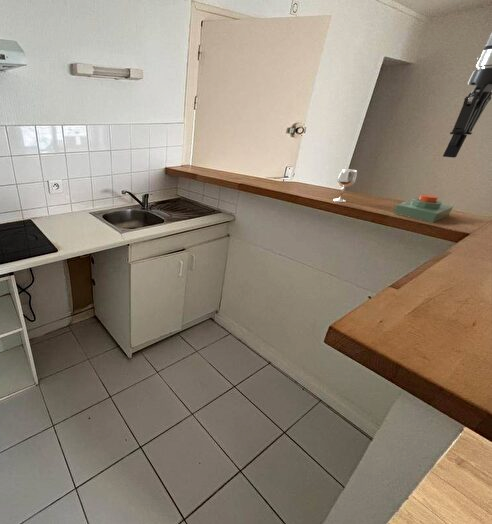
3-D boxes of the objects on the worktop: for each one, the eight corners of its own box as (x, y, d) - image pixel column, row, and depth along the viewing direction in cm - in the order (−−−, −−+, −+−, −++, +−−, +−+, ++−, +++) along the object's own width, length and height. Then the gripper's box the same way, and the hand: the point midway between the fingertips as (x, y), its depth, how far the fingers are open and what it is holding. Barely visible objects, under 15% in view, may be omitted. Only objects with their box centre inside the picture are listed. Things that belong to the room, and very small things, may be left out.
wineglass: (335, 202, 112) (346, 171, 106) (328, 198, 117) (338, 168, 111) (350, 202, 112) (362, 171, 106) (342, 198, 117) (353, 168, 111)
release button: (421, 199, 100) (424, 193, 99) (437, 202, 97) (440, 196, 96) (416, 201, 98) (418, 195, 97) (432, 204, 95) (435, 198, 94)
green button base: (410, 207, 107) (416, 194, 104) (448, 215, 99) (456, 201, 96) (392, 213, 101) (399, 199, 98) (432, 222, 92) (440, 208, 90)
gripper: (482, 70, 85) (442, 153, 96) (466, 68, 79) (425, 156, 90) (520, 67, 79) (472, 156, 90) (506, 65, 73) (457, 160, 84)
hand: (449, 156), depth 90 cm, fingers closed
